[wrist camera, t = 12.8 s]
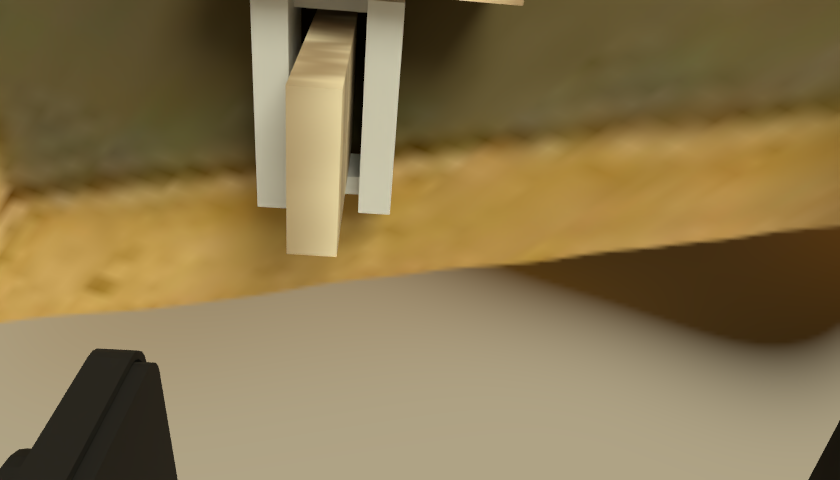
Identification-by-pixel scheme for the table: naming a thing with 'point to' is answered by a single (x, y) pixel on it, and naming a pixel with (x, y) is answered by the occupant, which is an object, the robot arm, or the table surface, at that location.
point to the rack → (500, 1)
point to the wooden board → (320, 133)
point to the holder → (373, 168)
